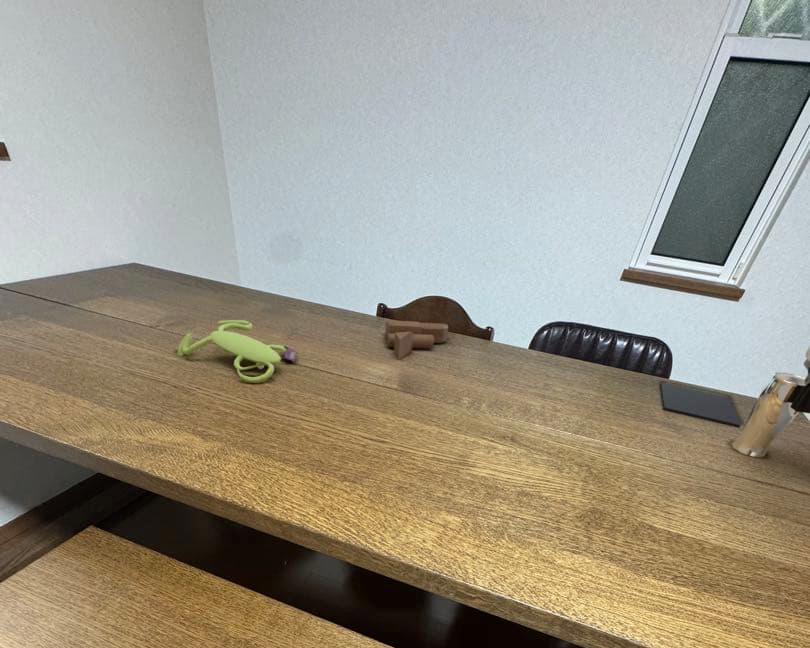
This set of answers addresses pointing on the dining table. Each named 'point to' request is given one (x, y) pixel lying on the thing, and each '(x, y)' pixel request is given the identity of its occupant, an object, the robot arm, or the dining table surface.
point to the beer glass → (769, 414)
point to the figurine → (241, 348)
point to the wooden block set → (413, 335)
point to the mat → (698, 404)
